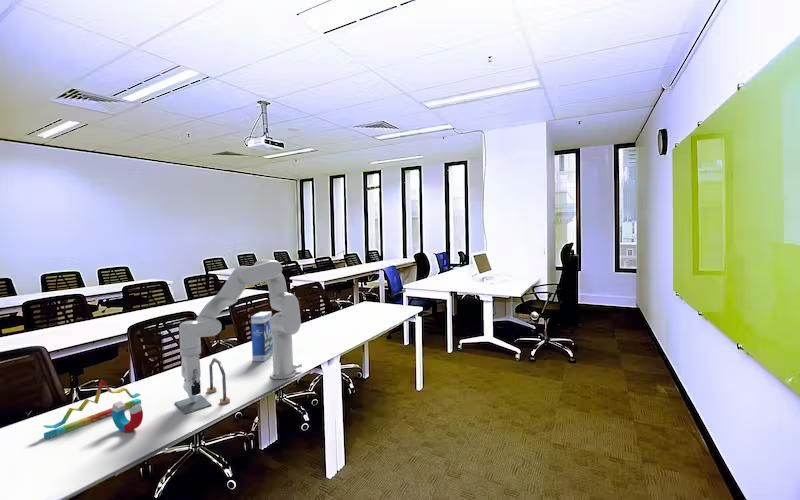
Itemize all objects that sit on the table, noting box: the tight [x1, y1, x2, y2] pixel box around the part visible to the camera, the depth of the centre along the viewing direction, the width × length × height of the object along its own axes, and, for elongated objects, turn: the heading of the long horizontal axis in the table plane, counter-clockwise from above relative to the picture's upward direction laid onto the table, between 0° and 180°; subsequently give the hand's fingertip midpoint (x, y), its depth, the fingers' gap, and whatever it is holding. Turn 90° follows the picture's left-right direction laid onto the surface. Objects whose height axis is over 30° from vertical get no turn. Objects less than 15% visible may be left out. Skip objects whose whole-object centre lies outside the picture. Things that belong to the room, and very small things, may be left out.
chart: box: [42, 378, 142, 440], centre depth 143 cm, size 30×3×15 cm, turn 152°
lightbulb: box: [182, 377, 202, 403], centre depth 155 cm, size 6×6×11 cm
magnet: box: [111, 400, 144, 433], centre depth 134 cm, size 12×3×10 cm, turn 74°
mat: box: [174, 394, 212, 415], centre depth 154 cm, size 10×14×1 cm
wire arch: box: [206, 357, 231, 405], centre depth 161 cm, size 3×19×17 cm, turn 45°
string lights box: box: [250, 311, 273, 362], centre depth 213 cm, size 13×8×26 cm, turn 179°
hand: (192, 390), depth 154 cm, fingers open, 9 cm apart
